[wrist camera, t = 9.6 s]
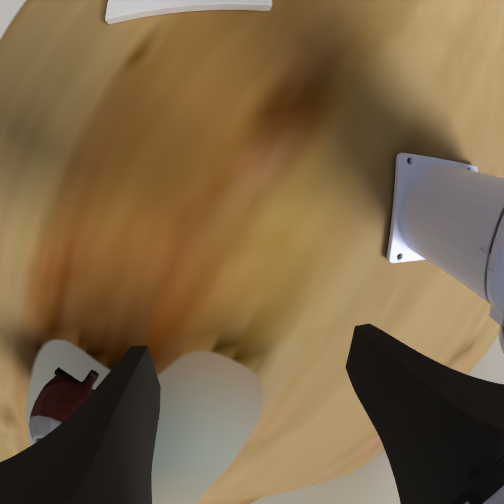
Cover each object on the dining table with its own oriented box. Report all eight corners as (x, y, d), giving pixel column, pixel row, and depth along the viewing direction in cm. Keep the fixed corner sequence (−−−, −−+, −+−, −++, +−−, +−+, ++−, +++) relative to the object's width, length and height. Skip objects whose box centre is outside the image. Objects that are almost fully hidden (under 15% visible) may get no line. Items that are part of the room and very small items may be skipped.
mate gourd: (131, 389, 21) (107, 547, 7) (101, 421, 22) (78, 543, 9) (59, 343, 19) (-10, 492, 5) (40, 384, 20) (-7, 501, 6)
